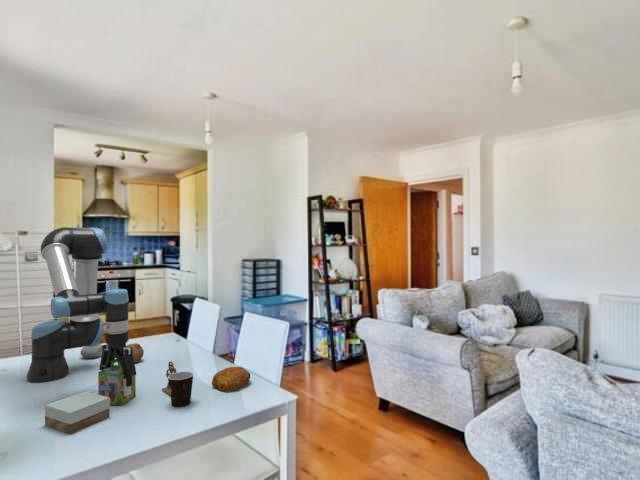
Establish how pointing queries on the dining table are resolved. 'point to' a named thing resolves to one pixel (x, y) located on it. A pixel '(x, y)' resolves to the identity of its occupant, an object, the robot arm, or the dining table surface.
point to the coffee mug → (180, 388)
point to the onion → (136, 351)
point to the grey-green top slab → (77, 407)
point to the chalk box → (114, 384)
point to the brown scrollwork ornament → (167, 390)
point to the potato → (230, 379)
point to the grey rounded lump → (92, 351)
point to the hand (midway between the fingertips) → (117, 392)
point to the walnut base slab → (77, 425)
